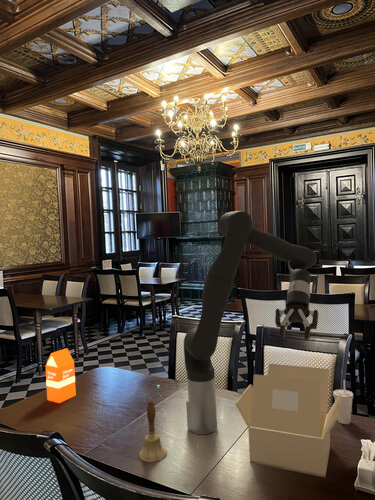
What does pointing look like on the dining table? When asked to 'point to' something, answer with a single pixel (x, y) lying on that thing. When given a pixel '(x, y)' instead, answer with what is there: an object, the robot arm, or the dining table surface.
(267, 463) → the carton
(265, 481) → the dining table surface
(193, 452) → the dining table surface
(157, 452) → the hand bell
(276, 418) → the front flap
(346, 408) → the smoothie
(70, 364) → the orange juice
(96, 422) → the dining table surface
